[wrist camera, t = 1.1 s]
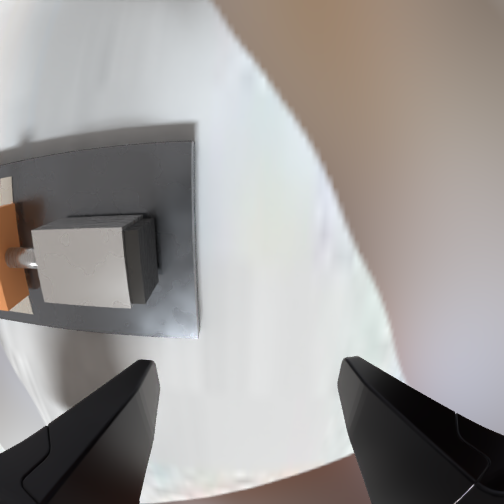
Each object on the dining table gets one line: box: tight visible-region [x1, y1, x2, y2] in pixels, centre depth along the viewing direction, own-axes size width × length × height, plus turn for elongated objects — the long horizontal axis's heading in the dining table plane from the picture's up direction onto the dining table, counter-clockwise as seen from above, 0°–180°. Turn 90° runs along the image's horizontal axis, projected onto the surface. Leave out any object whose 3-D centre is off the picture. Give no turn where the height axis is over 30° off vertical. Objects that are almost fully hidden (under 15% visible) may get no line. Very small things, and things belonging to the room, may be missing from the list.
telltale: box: [0, 203, 29, 311], centre depth 16 cm, size 7×1×3 cm, turn 179°
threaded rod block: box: [5, 215, 159, 309], centre depth 16 cm, size 4×11×4 cm, turn 89°
